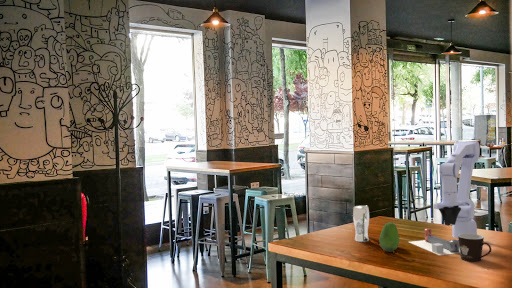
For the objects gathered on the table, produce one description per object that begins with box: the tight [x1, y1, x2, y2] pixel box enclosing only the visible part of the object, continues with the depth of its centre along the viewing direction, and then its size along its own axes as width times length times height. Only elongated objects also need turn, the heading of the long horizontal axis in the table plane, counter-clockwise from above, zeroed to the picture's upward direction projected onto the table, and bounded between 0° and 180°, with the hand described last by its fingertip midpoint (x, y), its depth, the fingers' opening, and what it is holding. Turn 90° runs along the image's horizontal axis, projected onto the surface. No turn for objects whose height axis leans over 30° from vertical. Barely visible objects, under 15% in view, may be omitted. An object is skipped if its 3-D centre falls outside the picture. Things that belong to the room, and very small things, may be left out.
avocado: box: [378, 222, 400, 253], centre depth 197 cm, size 8×8×12 cm
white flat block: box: [408, 239, 460, 256], centre depth 197 cm, size 16×22×4 cm
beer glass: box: [352, 205, 370, 243], centre depth 217 cm, size 7×7×15 cm
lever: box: [424, 227, 460, 252], centre depth 197 cm, size 21×4×5 cm, turn 14°
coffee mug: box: [457, 233, 492, 263], centre depth 177 cm, size 12×9×10 cm
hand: (450, 224), depth 200 cm, fingers open, 2 cm apart
